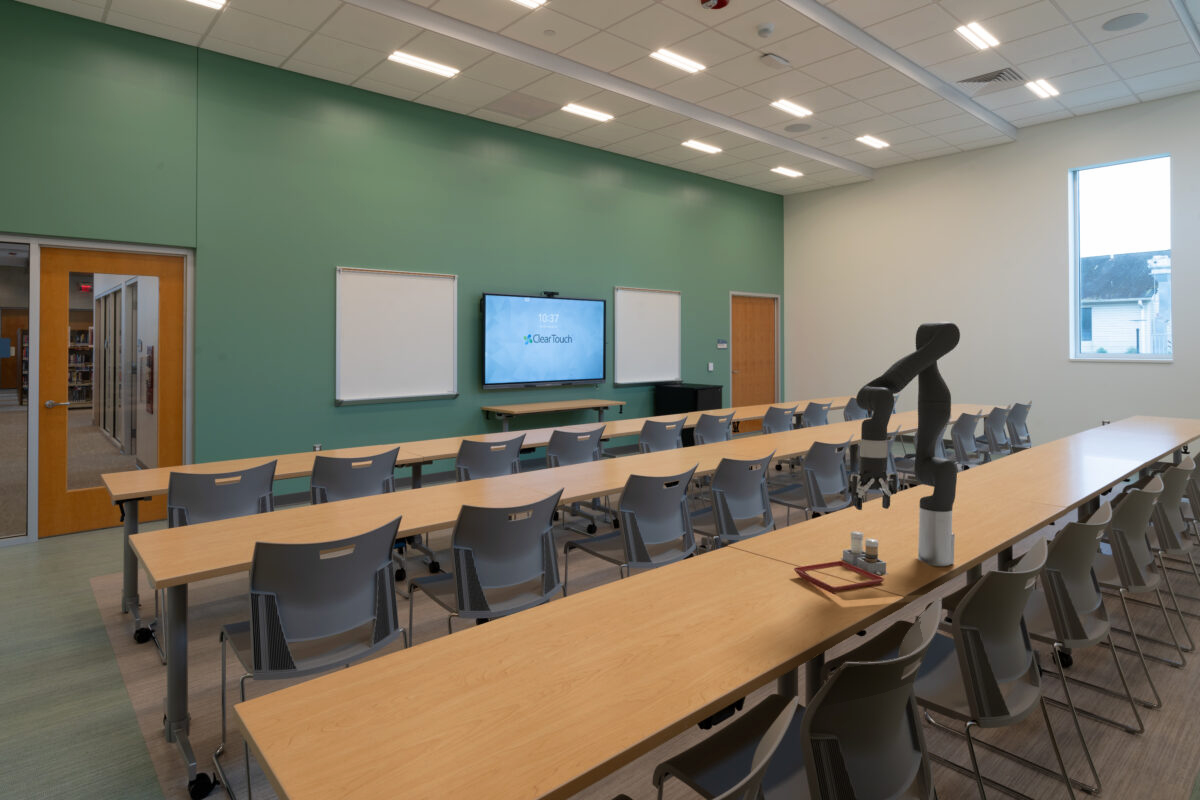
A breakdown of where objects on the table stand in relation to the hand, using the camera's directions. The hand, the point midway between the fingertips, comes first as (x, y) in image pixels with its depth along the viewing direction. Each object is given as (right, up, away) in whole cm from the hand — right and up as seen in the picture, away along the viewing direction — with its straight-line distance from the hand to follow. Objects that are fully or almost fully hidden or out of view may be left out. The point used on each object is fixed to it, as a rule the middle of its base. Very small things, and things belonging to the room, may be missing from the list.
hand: (872, 508), depth 194 cm
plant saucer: (-12, -21, -5) cm, 25 cm away
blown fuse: (0, -19, +1) cm, 19 cm away
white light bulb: (-1, -18, +9) cm, 20 cm away
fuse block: (0, -20, +5) cm, 20 cm away
